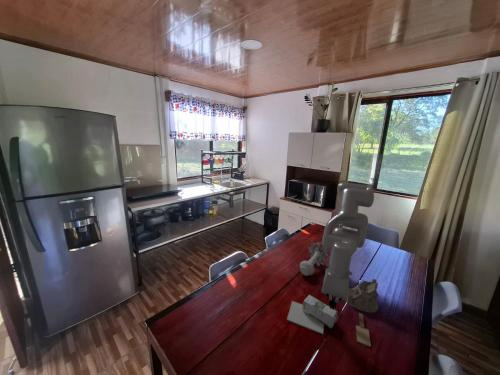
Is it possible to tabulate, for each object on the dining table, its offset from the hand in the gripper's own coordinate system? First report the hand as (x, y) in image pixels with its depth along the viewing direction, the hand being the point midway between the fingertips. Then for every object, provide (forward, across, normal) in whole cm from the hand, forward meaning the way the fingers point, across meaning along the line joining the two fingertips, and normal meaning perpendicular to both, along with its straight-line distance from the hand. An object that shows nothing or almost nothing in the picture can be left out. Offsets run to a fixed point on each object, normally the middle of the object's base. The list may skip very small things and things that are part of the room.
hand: (331, 306), depth 90 cm
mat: (+10, +10, 0) cm, 14 cm away
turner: (+10, -14, -4) cm, 18 cm away
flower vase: (+10, +12, -41) cm, 44 cm away
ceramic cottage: (+10, -15, -24) cm, 31 cm away
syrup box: (+7, -2, 0) cm, 7 cm away
